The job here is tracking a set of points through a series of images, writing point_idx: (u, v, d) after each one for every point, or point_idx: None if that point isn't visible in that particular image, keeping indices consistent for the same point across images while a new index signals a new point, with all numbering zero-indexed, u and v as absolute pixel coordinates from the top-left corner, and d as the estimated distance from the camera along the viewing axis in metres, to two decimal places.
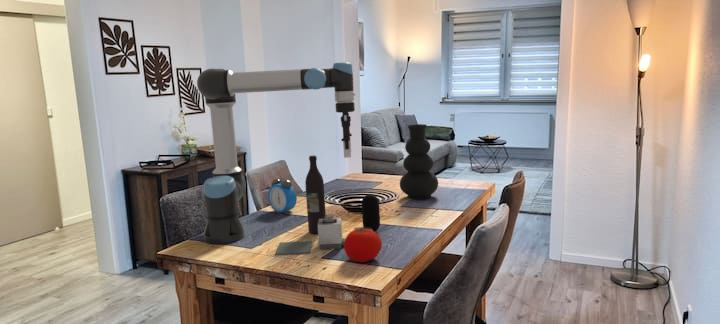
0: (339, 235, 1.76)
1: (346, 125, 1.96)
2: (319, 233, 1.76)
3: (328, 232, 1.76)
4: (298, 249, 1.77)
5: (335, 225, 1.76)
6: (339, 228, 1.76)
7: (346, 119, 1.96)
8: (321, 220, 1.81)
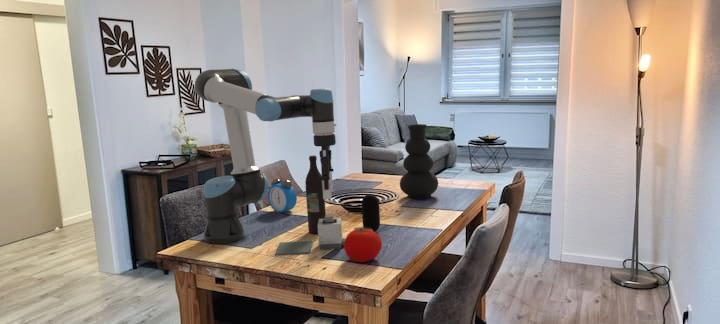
0: (339, 235, 1.76)
1: (325, 162, 1.68)
2: (319, 233, 1.76)
3: (328, 232, 1.76)
4: (298, 249, 1.77)
5: (335, 225, 1.76)
6: (339, 228, 1.76)
7: (325, 155, 1.69)
8: (321, 220, 1.81)
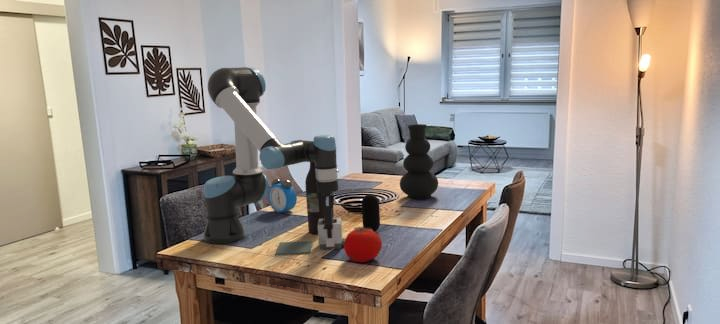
0: (339, 235, 1.76)
1: (328, 212, 1.72)
2: (319, 233, 1.76)
3: None
4: (298, 249, 1.77)
5: (335, 225, 1.76)
6: (339, 228, 1.76)
7: (328, 205, 1.72)
8: (321, 220, 1.81)
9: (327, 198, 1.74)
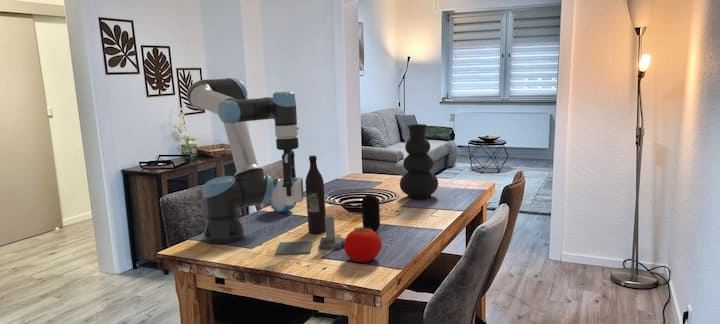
0: (299, 193, 1.73)
1: (287, 169, 1.69)
2: (278, 191, 1.73)
3: None
4: (298, 249, 1.77)
5: (295, 183, 1.72)
6: (299, 186, 1.73)
7: (287, 162, 1.69)
8: (281, 179, 1.78)
9: (286, 155, 1.70)
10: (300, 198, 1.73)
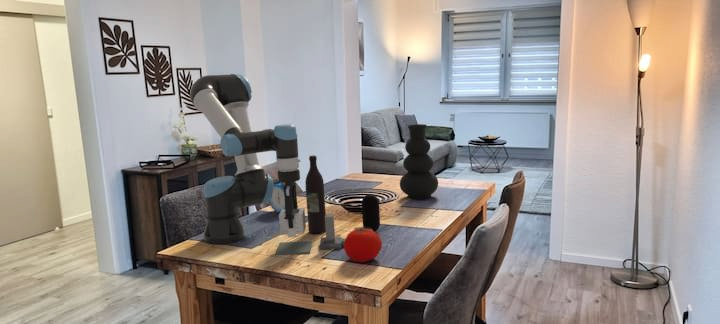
0: (301, 225, 1.74)
1: (288, 202, 1.70)
2: (280, 223, 1.74)
3: None
4: (298, 249, 1.77)
5: (296, 215, 1.74)
6: (301, 218, 1.74)
7: (289, 194, 1.70)
8: (283, 210, 1.79)
9: (288, 188, 1.72)
10: (302, 230, 1.75)
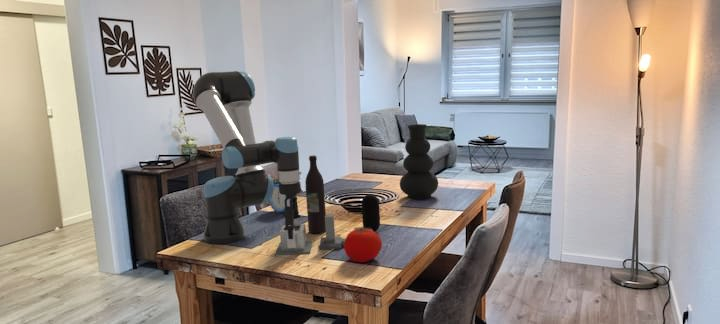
0: (302, 242, 1.76)
1: (289, 212, 1.70)
2: (281, 240, 1.75)
3: None
4: None
5: (297, 232, 1.75)
6: (301, 235, 1.75)
7: (289, 205, 1.70)
8: (284, 227, 1.80)
9: (289, 199, 1.72)
10: (303, 246, 1.76)
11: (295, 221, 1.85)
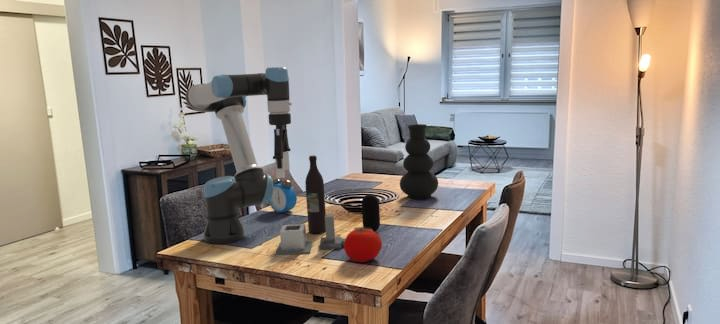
0: (302, 242, 1.76)
1: (278, 141, 1.68)
2: (281, 240, 1.75)
3: (290, 239, 1.75)
4: None
5: (297, 232, 1.75)
6: (301, 235, 1.75)
7: (279, 133, 1.69)
8: (284, 227, 1.80)
9: (278, 129, 1.71)
10: (303, 246, 1.76)
11: (285, 154, 1.83)
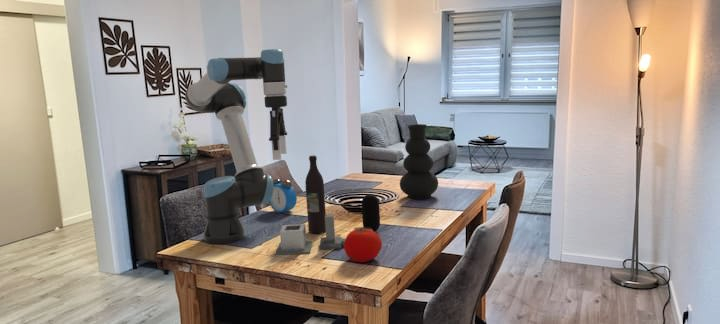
0: (302, 242, 1.76)
1: (274, 122, 1.68)
2: (281, 240, 1.75)
3: (290, 239, 1.75)
4: None
5: (297, 232, 1.75)
6: (301, 235, 1.75)
7: (274, 115, 1.68)
8: (284, 227, 1.80)
9: (274, 111, 1.71)
10: (303, 246, 1.76)
11: (282, 138, 1.83)
